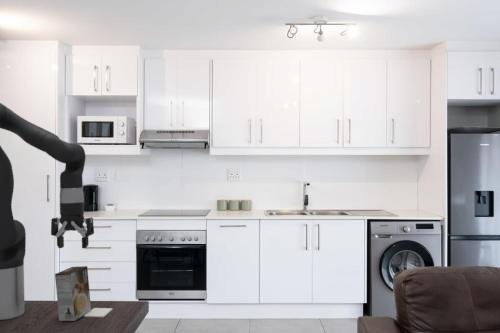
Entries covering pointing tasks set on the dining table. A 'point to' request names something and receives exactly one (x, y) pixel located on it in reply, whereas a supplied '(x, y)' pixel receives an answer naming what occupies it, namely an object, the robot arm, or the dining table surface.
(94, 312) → the coaster
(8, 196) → the robot arm
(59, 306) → the coffee box
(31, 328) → the dining table surface
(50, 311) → the dining table surface
